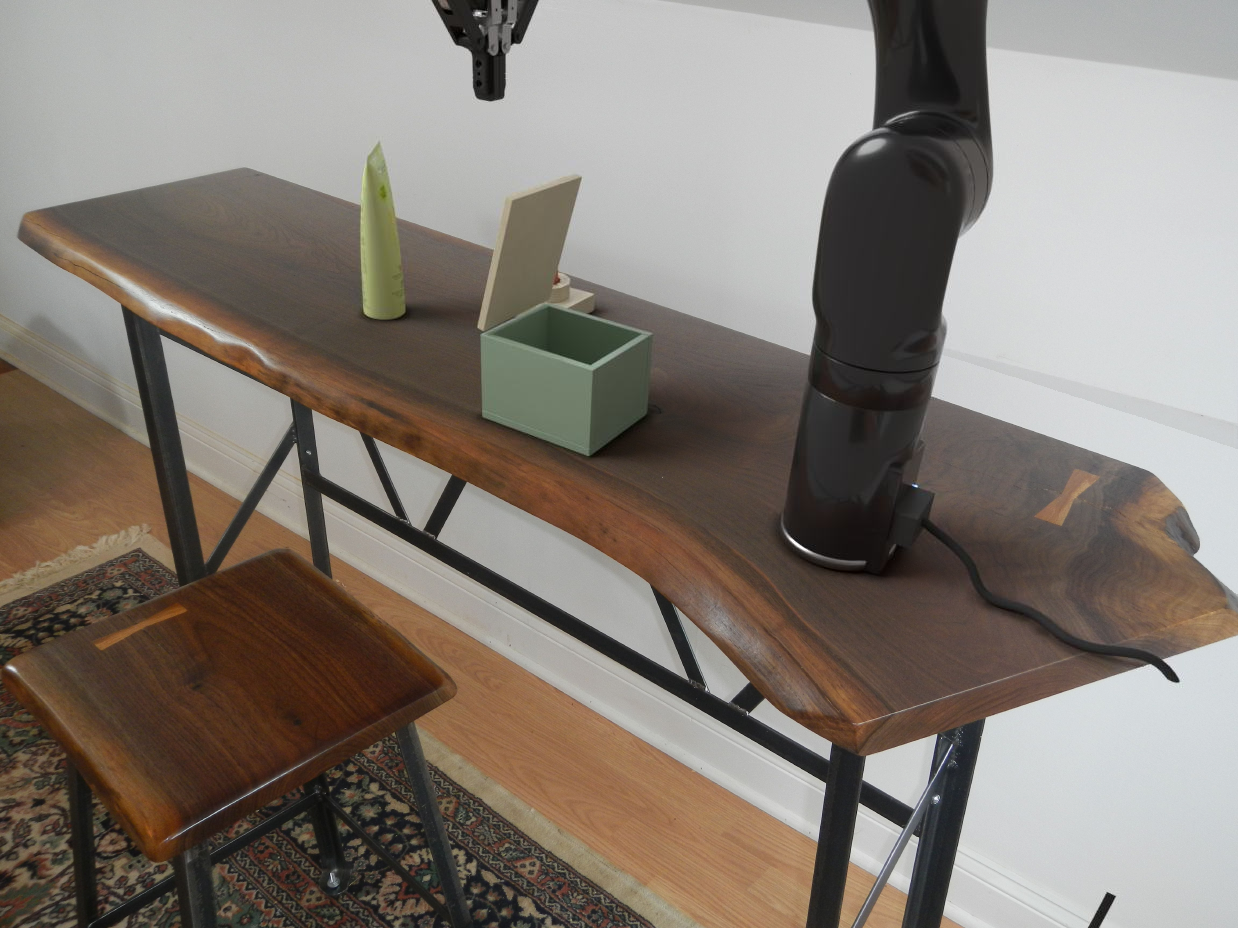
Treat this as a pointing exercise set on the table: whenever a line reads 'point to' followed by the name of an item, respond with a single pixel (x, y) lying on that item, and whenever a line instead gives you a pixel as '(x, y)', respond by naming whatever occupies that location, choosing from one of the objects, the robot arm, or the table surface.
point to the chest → (565, 376)
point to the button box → (569, 297)
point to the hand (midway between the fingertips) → (489, 99)
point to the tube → (380, 243)
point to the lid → (528, 249)
